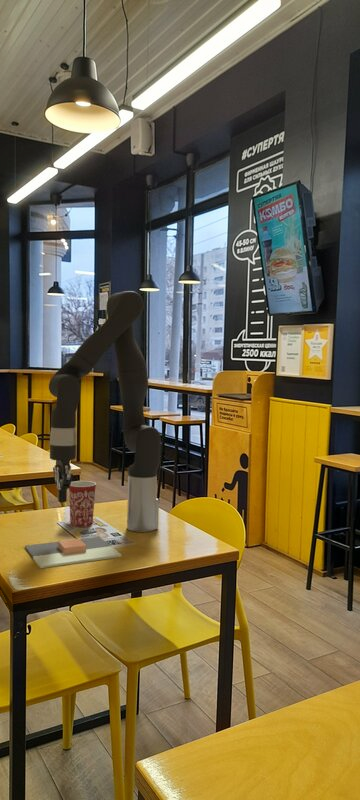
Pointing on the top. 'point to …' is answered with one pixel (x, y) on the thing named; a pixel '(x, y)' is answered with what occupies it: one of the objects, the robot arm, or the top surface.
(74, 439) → the robot arm
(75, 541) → the tile
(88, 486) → the mug
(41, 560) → the mat
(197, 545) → the top surface
